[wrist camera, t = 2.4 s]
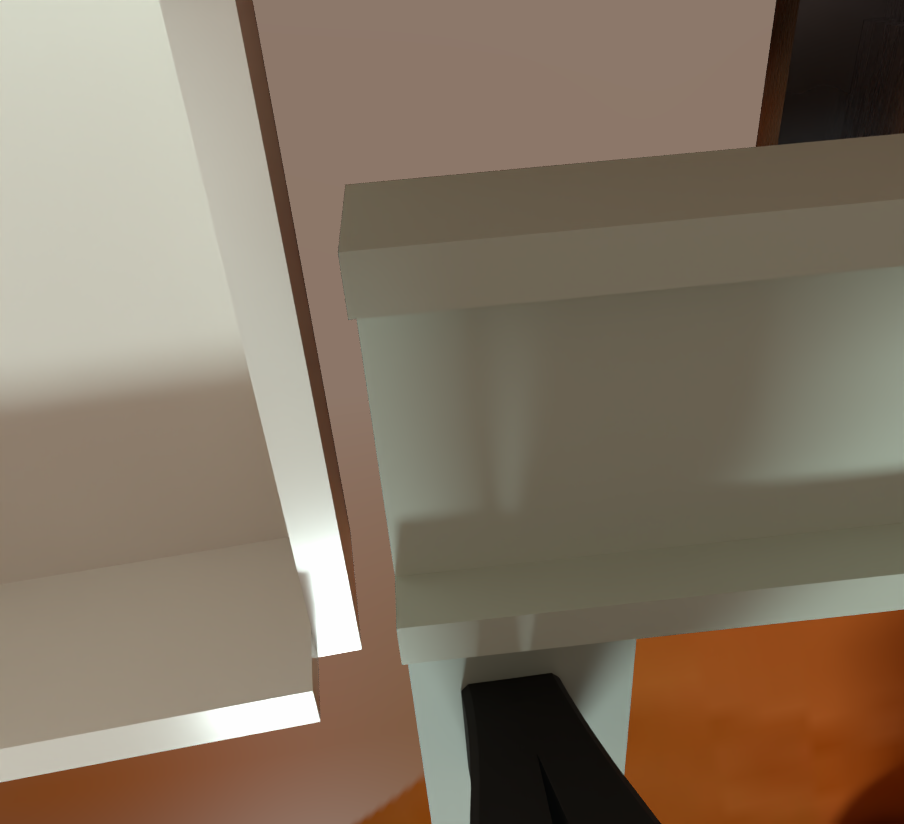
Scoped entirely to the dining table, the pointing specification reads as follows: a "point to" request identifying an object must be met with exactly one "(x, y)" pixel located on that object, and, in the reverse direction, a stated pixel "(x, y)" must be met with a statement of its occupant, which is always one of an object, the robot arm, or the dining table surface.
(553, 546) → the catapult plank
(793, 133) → the fulcrum
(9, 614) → the tray
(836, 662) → the dining table surface
